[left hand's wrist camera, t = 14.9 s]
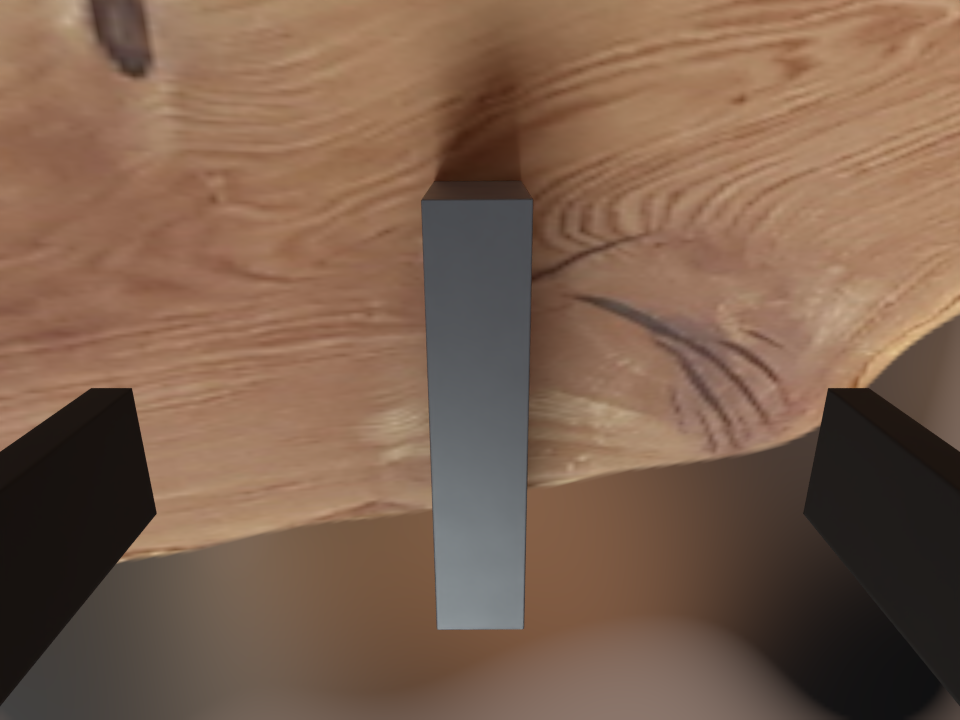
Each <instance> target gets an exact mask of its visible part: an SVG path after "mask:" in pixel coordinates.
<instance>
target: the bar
mask: <svg viewBox="0 0 960 720" xmlns="http://www.w3.org/2000/svg"><path fill="white" fill-rule="evenodd" d="M421 209H422V236H423V263H424V291H425V318H426V345H427V373H428V400H429V427H430V454H431V482H432V509H433V535H434V564H435V591H436V618H437V629H438V630H450V629H451V630H454V629H524V608H525V560H526V513H527V466H528V419H529V372H530V325H531V278H532V231H533V199H532V197H531V196H530V194H529V192H528V191H527V189H526V188H525V186H524V184H523V183H522V181H435V182H434V183H433V184H432V185H431V187H430V188H429V190H428V191H427V193H426V194H425V196H424V197H423V199H422V200H421Z"/></svg>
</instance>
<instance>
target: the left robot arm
mask: <svg viewBox="0 0 960 720" xmlns="http://www.w3.org/2000/svg"><path fill="white" fill-rule="evenodd" d="M156 514H157V513H156V508H155V503H154V498H153V492H152V487H151V482H150V477H149V472H148V467H147V462H146V457H145V452H144V447H143V442H142V437H141V432H140V427H139V422H138V417H137V412H136V407H135V402H134V397H133V392H132V388H91V389H89V390H88V391H87V392H85V393H84V394H82V395H81V396H79V397H78V398H77V399H75V400H74V401H72V402H71V403H69V404H68V405H67V406H65V407H64V408H62V409H61V410H59V411H58V412H57V413H55V414H54V415H52V416H51V417H49V418H48V419H46V420H45V421H44V422H42V423H41V424H39V425H38V426H36V427H35V428H34V429H32V430H31V431H29V432H28V433H26V434H25V435H24V436H22V437H21V438H19V439H18V440H16V441H15V442H14V443H12V444H11V445H9V446H8V447H6V448H5V449H4V450H2V451H1V452H0V706H1V704H2V703H3V702H4V701H5V699H6V698H7V697H8V696H9V694H10V693H11V692H12V691H13V690H14V688H15V687H16V686H17V685H18V683H19V682H20V681H21V680H22V679H23V677H24V676H25V675H26V674H27V672H28V671H29V670H30V669H31V667H32V666H33V665H34V664H35V663H36V661H37V660H38V659H39V658H40V656H41V655H42V654H43V653H44V651H45V650H46V649H47V648H48V647H49V645H50V644H51V643H52V642H53V640H54V639H55V638H56V637H57V636H58V634H59V633H60V632H61V631H62V629H63V628H64V627H65V626H66V624H67V623H68V622H69V621H70V620H71V618H72V617H73V616H74V615H75V613H76V612H77V611H78V610H79V608H80V607H81V606H82V605H83V604H84V602H85V601H86V600H87V599H88V597H89V596H90V595H91V594H92V593H93V591H94V590H95V589H96V588H97V586H98V585H99V584H100V583H101V581H102V580H103V579H104V578H105V576H106V575H107V574H108V573H109V572H110V570H111V569H112V568H113V567H114V565H115V564H116V563H117V562H118V561H119V559H120V558H121V557H122V556H123V554H124V553H125V552H126V551H127V549H128V548H129V547H130V546H131V545H132V543H133V542H134V541H135V540H136V538H137V537H138V536H139V535H140V534H141V532H142V531H143V530H144V529H145V527H146V526H147V525H148V524H149V522H150V521H151V520H152V519H153V518H154V516H155V515H156ZM803 514H804V515H805V516H806V518H807V519H808V520H809V521H810V522H811V524H812V525H813V526H814V527H815V529H816V530H817V531H818V532H819V534H820V535H821V536H822V537H823V538H824V540H825V541H826V542H827V543H828V545H829V546H830V547H831V548H832V549H833V551H834V552H835V553H836V554H837V556H838V557H839V558H840V559H841V561H842V562H843V563H844V564H845V565H846V567H847V568H848V569H849V570H850V572H851V573H852V574H853V575H854V577H855V578H856V579H857V580H858V581H859V583H860V584H861V585H862V586H863V588H864V589H865V590H866V591H867V593H868V594H869V595H870V596H871V597H872V599H873V600H874V601H875V602H876V604H877V605H878V606H879V607H880V609H881V610H882V611H883V612H884V613H885V615H886V616H887V617H888V618H889V620H890V621H891V622H892V623H893V624H894V626H895V627H896V628H897V629H898V631H899V632H900V633H901V634H902V635H903V637H904V638H905V639H906V640H907V642H908V643H909V644H910V645H911V647H912V648H913V649H914V650H915V652H916V653H917V654H918V655H919V656H920V658H921V659H922V660H923V661H924V663H925V664H926V665H927V666H928V668H929V669H930V670H931V671H932V672H933V674H934V675H935V676H936V677H937V679H938V680H939V681H940V682H941V683H942V685H943V686H944V687H945V688H946V690H947V691H948V692H949V693H950V695H951V696H952V697H953V698H954V699H955V701H956V702H957V703H958V704H959V706H960V452H959V451H958V450H956V449H955V448H954V447H952V446H951V445H949V444H948V443H946V442H945V441H943V440H942V439H941V438H939V437H938V436H936V435H935V434H934V433H932V432H931V431H929V430H928V429H926V428H925V427H923V426H922V425H921V424H919V423H918V422H916V421H915V420H913V419H912V418H911V417H909V416H908V415H906V414H905V413H903V412H902V411H901V410H899V409H898V408H896V407H895V406H893V405H892V404H891V403H889V402H888V401H886V400H885V399H883V398H882V397H881V396H879V395H878V394H876V393H875V392H873V391H872V390H871V389H869V388H828V392H827V397H826V402H825V407H824V412H823V417H822V422H821V427H820V432H819V437H818V442H817V447H816V452H815V457H814V462H813V467H812V472H811V477H810V482H809V487H808V492H807V498H806V503H805V508H804V513H803Z"/></svg>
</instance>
